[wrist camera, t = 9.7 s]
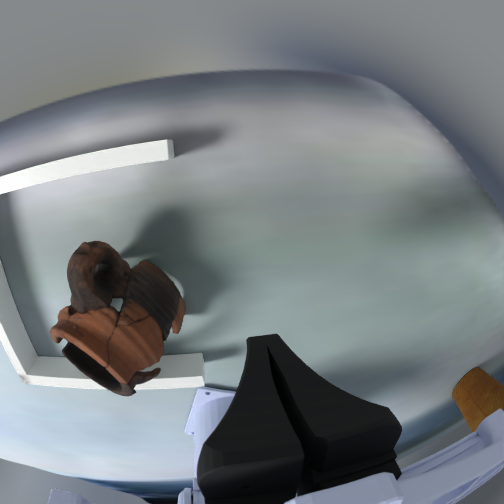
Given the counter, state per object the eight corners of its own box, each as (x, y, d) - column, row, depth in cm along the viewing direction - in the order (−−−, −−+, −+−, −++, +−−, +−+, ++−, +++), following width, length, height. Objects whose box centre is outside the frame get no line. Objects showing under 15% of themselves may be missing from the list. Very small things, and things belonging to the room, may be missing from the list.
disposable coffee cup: (488, 376, 36) (526, 418, 25) (446, 412, 37) (481, 460, 26) (486, 347, 33) (534, 395, 21) (440, 390, 34) (483, 446, 22)
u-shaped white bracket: (173, 139, 19) (166, 139, 16) (204, 362, 25) (204, 386, 23) (-24, 186, 17) (-45, 193, 14) (34, 364, 23) (23, 383, 21)
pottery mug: (204, 336, 25) (161, 418, 19) (121, 314, 28) (75, 377, 22) (167, 211, 18) (79, 305, 12) (73, 207, 21) (-1, 272, 15)
